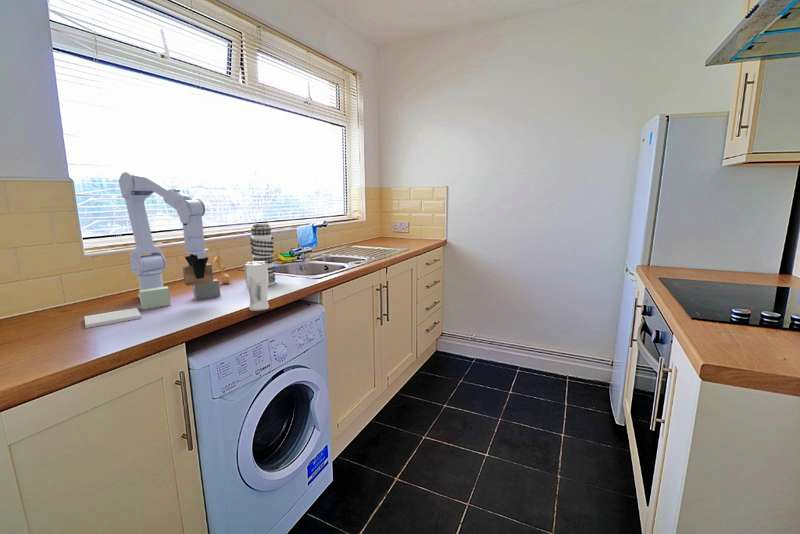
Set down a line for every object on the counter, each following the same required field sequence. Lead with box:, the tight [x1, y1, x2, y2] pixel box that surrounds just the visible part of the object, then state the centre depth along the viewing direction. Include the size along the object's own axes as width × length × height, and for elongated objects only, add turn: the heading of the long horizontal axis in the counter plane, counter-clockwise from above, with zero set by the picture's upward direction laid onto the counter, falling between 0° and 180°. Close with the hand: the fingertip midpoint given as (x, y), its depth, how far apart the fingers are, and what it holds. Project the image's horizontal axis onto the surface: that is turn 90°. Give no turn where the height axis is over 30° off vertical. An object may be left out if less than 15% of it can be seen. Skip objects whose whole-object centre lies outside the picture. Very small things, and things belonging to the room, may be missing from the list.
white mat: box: [84, 307, 142, 329], centre depth 113 cm, size 10×13×1 cm
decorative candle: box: [249, 222, 276, 286], centre depth 155 cm, size 9×9×25 cm
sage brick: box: [138, 285, 172, 310], centre depth 125 cm, size 4×8×6 cm, turn 131°
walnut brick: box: [182, 262, 214, 287], centre depth 126 cm, size 4×8×6 cm, turn 131°
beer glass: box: [244, 261, 270, 312], centre depth 121 cm, size 7×7×15 cm
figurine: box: [212, 254, 232, 285], centre depth 157 cm, size 8×6×12 cm
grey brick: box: [192, 278, 221, 301], centre depth 136 cm, size 4×8×6 cm, turn 131°
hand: (198, 277), depth 126 cm, fingers closed on walnut brick, 3 cm apart
